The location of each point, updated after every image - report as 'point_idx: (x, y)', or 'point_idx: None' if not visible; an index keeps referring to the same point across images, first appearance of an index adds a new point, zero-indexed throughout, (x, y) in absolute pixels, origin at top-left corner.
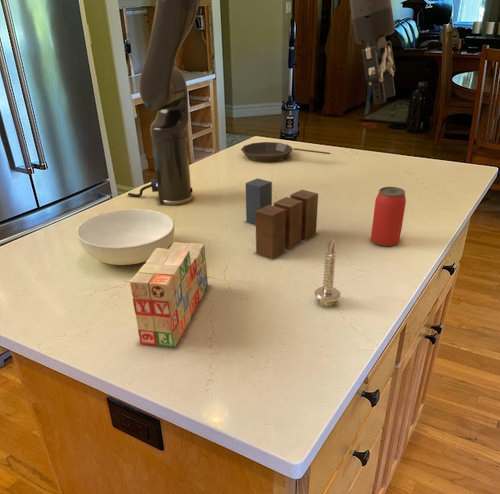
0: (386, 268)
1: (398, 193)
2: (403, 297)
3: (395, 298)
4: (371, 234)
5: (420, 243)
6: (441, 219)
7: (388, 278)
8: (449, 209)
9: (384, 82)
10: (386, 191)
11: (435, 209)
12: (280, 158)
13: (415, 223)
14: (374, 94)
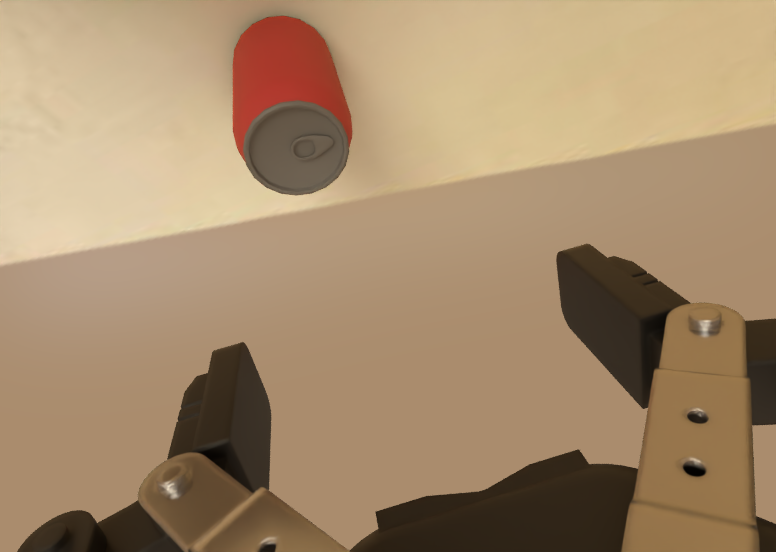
0: (120, 155)
1: (301, 172)
2: (25, 251)
3: (2, 242)
4: (250, 32)
5: None
6: (543, 121)
7: (74, 186)
8: (633, 107)
9: (624, 324)
10: (290, 129)
11: (622, 73)
12: None
13: (478, 74)
14: (180, 423)
